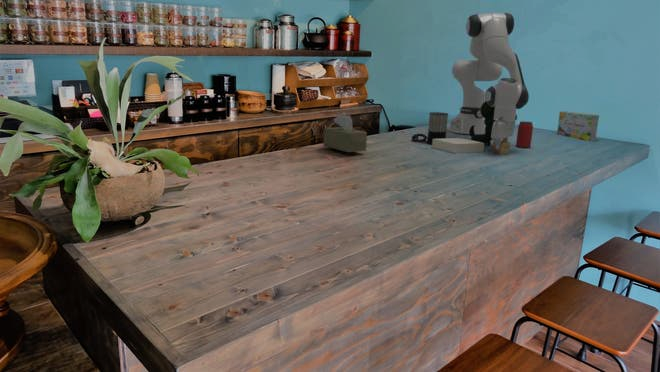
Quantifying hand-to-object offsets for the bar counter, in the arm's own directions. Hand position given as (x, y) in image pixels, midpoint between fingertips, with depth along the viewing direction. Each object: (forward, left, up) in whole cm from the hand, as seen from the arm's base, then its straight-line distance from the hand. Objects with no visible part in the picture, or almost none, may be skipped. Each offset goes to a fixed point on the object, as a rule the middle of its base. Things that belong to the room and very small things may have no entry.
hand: (500, 148), depth 222 cm
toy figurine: (-22, +10, -2) cm, 25 cm away
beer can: (-12, +26, -2) cm, 29 cm away
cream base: (-12, -14, -2) cm, 19 cm away
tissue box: (-27, -63, -2) cm, 69 cm away
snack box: (-24, +76, -2) cm, 80 cm away
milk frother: (-33, -14, -2) cm, 36 cm away
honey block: (0, 0, -2) cm, 2 cm away
